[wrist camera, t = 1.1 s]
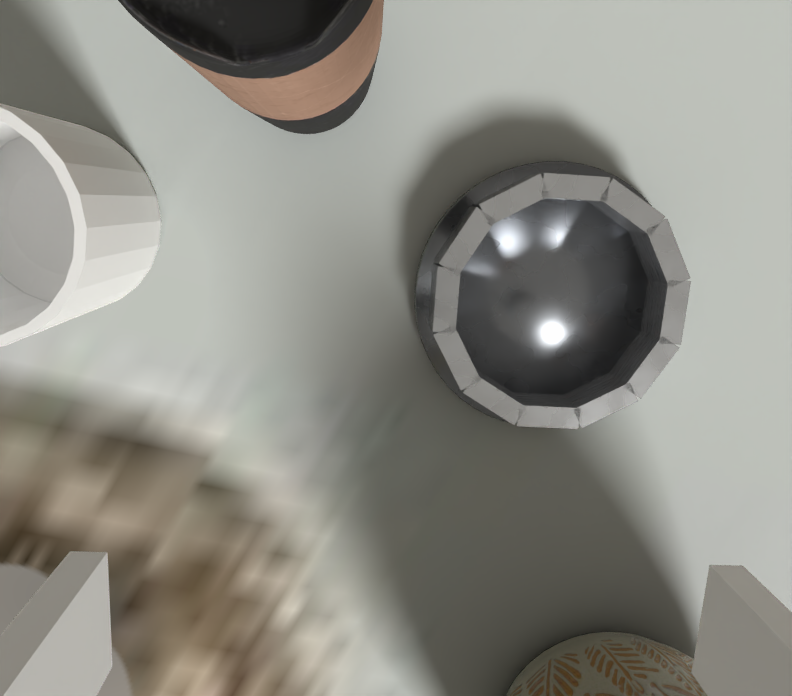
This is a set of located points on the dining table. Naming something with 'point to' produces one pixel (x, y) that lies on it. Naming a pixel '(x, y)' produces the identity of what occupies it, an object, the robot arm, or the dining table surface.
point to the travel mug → (275, 53)
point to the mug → (68, 222)
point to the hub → (551, 295)
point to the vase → (608, 669)
